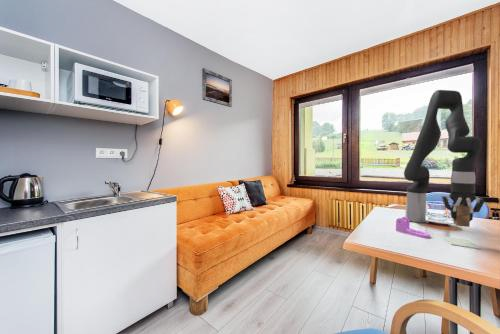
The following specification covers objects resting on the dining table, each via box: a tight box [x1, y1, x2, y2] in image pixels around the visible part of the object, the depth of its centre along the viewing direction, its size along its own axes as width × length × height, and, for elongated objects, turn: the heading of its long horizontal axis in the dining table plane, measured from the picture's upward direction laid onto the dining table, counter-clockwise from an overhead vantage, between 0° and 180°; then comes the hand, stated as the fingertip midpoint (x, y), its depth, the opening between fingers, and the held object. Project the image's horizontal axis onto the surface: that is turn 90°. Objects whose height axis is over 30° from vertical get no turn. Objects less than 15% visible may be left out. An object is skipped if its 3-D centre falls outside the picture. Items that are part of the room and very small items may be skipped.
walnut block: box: [453, 204, 471, 228], centre depth 93 cm, size 4×4×9 cm
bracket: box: [395, 216, 431, 239], centre depth 104 cm, size 13×6×7 cm, turn 30°
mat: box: [443, 236, 481, 250], centre depth 92 cm, size 9×10×1 cm
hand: (461, 220), depth 93 cm, fingers closed on walnut block, 4 cm apart
